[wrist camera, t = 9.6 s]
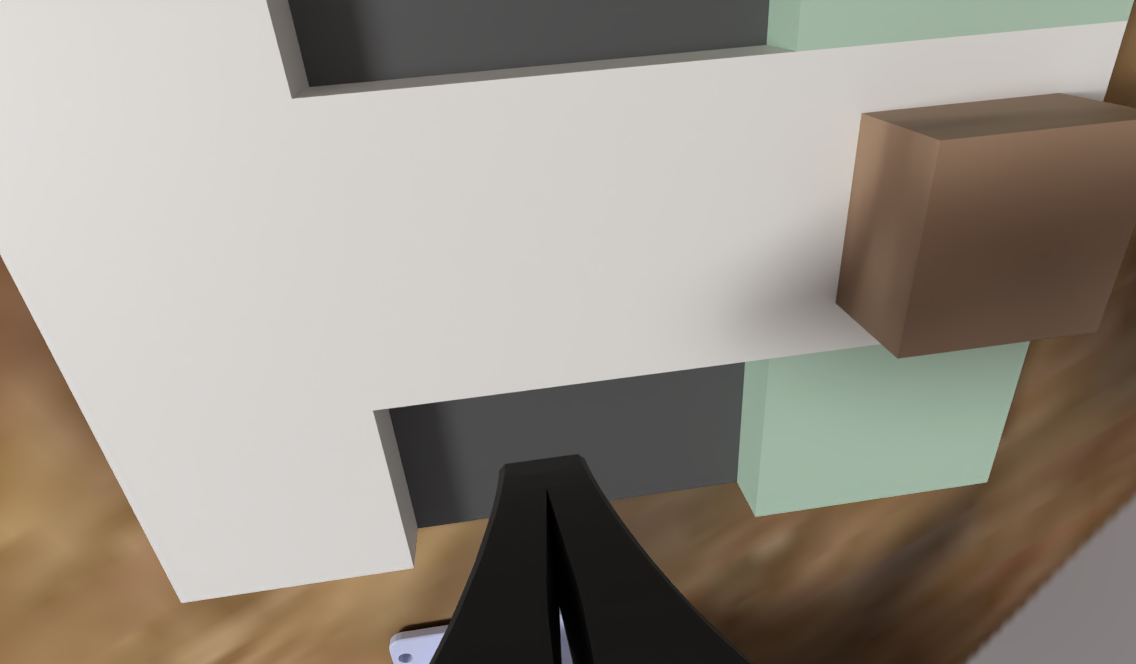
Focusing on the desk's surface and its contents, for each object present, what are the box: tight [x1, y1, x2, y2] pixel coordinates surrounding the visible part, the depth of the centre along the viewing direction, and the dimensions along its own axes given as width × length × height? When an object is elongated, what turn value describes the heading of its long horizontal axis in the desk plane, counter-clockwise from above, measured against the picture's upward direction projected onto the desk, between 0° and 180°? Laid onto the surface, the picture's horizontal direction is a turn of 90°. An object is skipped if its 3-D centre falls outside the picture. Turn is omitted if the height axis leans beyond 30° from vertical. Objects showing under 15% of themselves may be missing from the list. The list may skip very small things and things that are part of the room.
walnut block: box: [836, 93, 1136, 359], centre depth 16 cm, size 5×5×3 cm
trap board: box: [0, 0, 1134, 603], centre depth 17 cm, size 20×26×2 cm
